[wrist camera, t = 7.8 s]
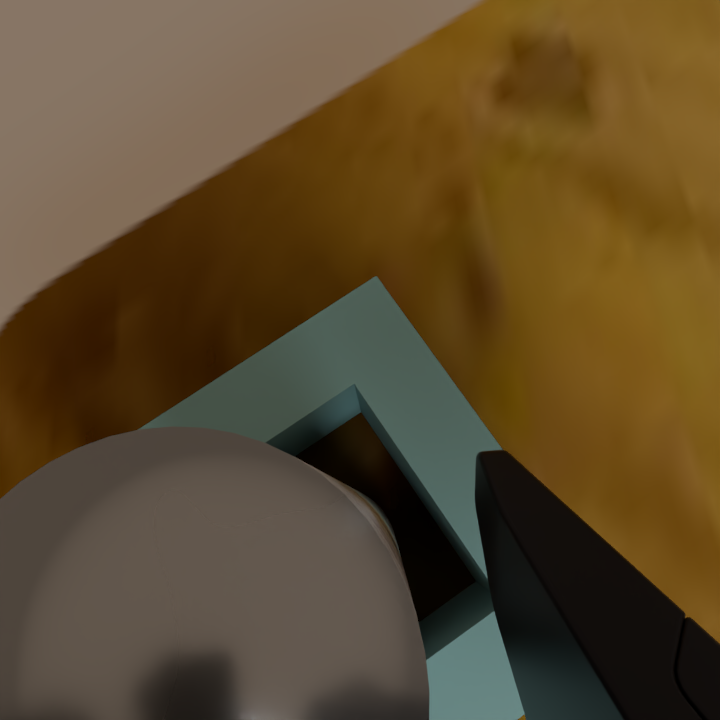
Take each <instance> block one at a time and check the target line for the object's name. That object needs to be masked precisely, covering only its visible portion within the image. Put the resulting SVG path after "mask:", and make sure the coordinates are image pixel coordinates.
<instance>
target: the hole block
mask: <svg viewBox="0 0 720 720" xmlns="http://www.w3.org/2000/svg"><path fill="white" fill-rule="evenodd" d="M360 412H361V413H362V414H363V415H364V417H365V418H366V420H367V421H368V423H369V424H370V426H371V427H372V429H373V430H374V432H375V433H376V435H377V436H378V438H379V439H380V441H381V442H382V443H383V445H384V446H385V448H386V449H387V451H388V452H389V454H390V455H391V457H392V458H393V460H394V461H395V463H396V464H397V466H398V467H399V469H400V470H401V472H402V473H403V474H404V476H405V477H406V479H407V480H408V482H409V483H410V485H411V486H412V488H413V489H414V491H415V492H416V494H417V495H418V497H419V498H420V500H421V501H422V503H423V504H424V505H425V507H426V508H427V510H428V511H429V513H430V514H431V516H432V517H433V519H434V520H435V522H436V523H437V525H438V526H439V528H440V529H441V531H442V532H443V534H444V535H445V536H446V538H447V539H448V541H449V542H450V544H451V545H452V547H453V548H454V550H455V551H456V553H457V554H458V556H459V557H460V559H461V560H462V562H463V563H464V564H465V566H466V567H467V569H468V570H469V572H470V573H471V575H472V576H473V578H474V579H475V581H476V582H474V583H473V584H471V585H470V586H469V587H467V588H466V589H464V590H463V591H462V592H460V593H459V594H457V595H456V596H455V597H453V598H452V599H451V600H449V601H448V602H446V603H445V604H444V605H442V606H441V607H439V608H438V609H437V610H435V611H434V612H432V613H431V614H430V615H428V616H427V617H425V618H424V619H423V620H421V621H420V622H419V627H420V632H421V636H422V640H423V645H424V649H425V654H426V663H427V673H428V682H429V692H430V695H429V720H517V719H518V718H520V717H521V716H522V715H524V714H525V713H524V710H523V707H522V703H521V700H520V697H519V693H518V690H517V687H516V683H515V680H514V677H513V673H512V670H511V667H510V663H509V660H508V657H507V653H506V650H505V647H504V643H503V640H502V637H501V633H500V630H499V627H498V623H497V619H496V616H495V612H494V608H493V604H492V599H491V594H490V589H489V583H488V577H487V571H486V566H485V560H484V554H483V548H482V542H481V536H480V531H479V525H478V519H477V513H476V507H475V467H476V456H477V454H478V453H479V452H481V451H492V450H503V449H502V448H501V447H500V445H499V444H498V443H497V441H496V440H495V438H494V437H493V436H492V434H491V433H490V432H489V430H488V429H487V427H486V426H485V425H484V423H483V422H482V421H481V419H480V418H479V416H478V415H477V414H476V412H475V411H474V410H473V408H472V407H471V405H470V404H469V403H468V401H467V400H466V399H465V397H464V396H463V394H462V393H461V392H460V390H459V389H458V388H457V386H456V385H455V383H454V382H453V381H452V379H451V378H450V377H449V375H448V374H447V372H446V371H445V370H444V368H443V367H442V366H441V364H440V363H439V361H438V360H437V359H436V357H435V356H434V355H433V353H432V352H431V350H430V349H429V348H428V346H427V345H426V343H425V342H424V341H423V339H422V338H421V337H420V335H419V334H418V332H417V331H416V330H415V328H414V327H413V326H412V324H411V323H410V321H409V320H408V319H407V317H406V316H405V315H404V313H403V312H402V310H401V309H400V308H399V306H398V305H397V304H396V302H395V301H394V299H393V298H392V297H391V295H390V294H389V293H388V291H387V290H386V288H385V287H384V286H383V284H382V283H381V282H380V280H379V279H378V277H377V276H375V277H373V278H372V279H370V280H369V281H367V282H366V283H364V284H363V285H361V286H359V287H358V288H356V289H355V290H353V291H352V292H350V293H349V294H347V295H346V296H344V297H342V298H341V299H339V300H338V301H336V302H335V303H333V304H332V305H330V306H328V307H327V308H325V309H324V310H322V311H321V312H319V313H318V314H316V315H315V316H313V317H311V318H310V319H308V320H307V321H305V322H304V323H302V324H301V325H299V326H298V327H296V328H294V329H293V330H291V331H290V332H288V333H287V334H285V335H284V336H282V337H280V338H279V339H277V340H276V341H274V342H273V343H271V344H270V345H268V346H267V347H265V348H263V349H262V350H260V351H259V352H257V353H256V354H254V355H253V356H251V357H250V358H248V359H246V360H245V361H243V362H242V363H240V364H239V365H237V366H236V367H234V368H232V369H231V370H229V371H228V372H226V373H225V374H223V375H222V376H220V377H219V378H217V379H215V380H214V381H212V382H211V383H209V384H208V385H206V386H205V387H203V388H202V389H200V390H198V391H197V392H195V393H194V394H192V395H191V396H189V397H188V398H186V399H184V400H183V401H181V402H180V403H178V404H177V405H175V406H174V407H172V408H171V409H169V410H167V411H166V412H164V413H163V414H161V415H160V416H158V417H157V418H155V419H154V420H152V421H150V422H149V423H147V424H146V425H144V426H143V427H141V428H140V429H150V428H160V427H171V426H174V427H200V428H208V429H214V430H220V431H226V432H232V433H236V434H239V435H242V436H245V437H249V438H252V439H255V440H258V441H261V442H264V443H267V444H269V445H271V446H273V447H275V448H277V449H279V450H281V451H283V452H286V453H288V454H290V455H292V456H294V457H295V456H296V455H298V454H299V453H301V452H302V451H304V450H305V449H307V448H308V447H310V446H311V445H313V444H314V443H316V442H317V441H319V440H320V439H322V438H323V437H325V436H326V435H328V434H329V433H330V432H332V431H333V430H335V429H336V428H338V427H339V426H341V425H342V424H344V423H345V422H347V421H348V420H350V419H351V418H353V417H354V416H356V415H357V414H359V413H360ZM140 429H138V430H140Z"/></svg>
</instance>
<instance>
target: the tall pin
mask: <svg viewBox="0 0 720 720" xmlns="http://www.w3.org/2000/svg"><path fill="white" fill-rule="evenodd" d="M429 695H430V692H429V682H428V673H427V663H426V654H425V649H424V645H423V640H422V636H421V632H420V627H419V623H418V619H417V614H416V611H415V607H414V603H413V600H412V596H411V592H410V588H409V585H408V581H407V577H406V574H405V570H404V566H403V562H402V559H401V555H400V551H399V548H398V544H397V540H396V536H395V533H394V530H393V527H392V525H391V523H390V521H389V519H388V517H387V516H386V514H385V513H384V511H383V510H382V509H381V508H380V507H379V505H378V504H377V503H375V502H374V501H373V500H372V499H371V498H369V497H368V496H366V495H364V494H363V493H361V492H359V491H357V490H355V489H353V488H352V487H350V486H348V485H346V484H344V483H342V482H340V481H339V480H337V479H335V478H333V477H331V476H329V475H327V474H326V473H324V472H322V471H320V470H318V469H316V468H314V467H313V466H311V465H309V464H307V463H305V462H303V461H301V460H300V459H298V458H296V457H294V456H292V455H290V454H288V453H286V452H283V451H281V450H279V449H277V448H275V447H273V446H271V445H269V444H267V443H264V442H261V441H258V440H255V439H252V438H249V437H245V436H242V435H239V434H236V433H232V432H226V431H220V430H214V429H208V428H200V427H174V426H171V427H160V428H150V429H140V430H135V431H131V432H127V433H122V434H118V435H113V436H109V437H106V438H103V439H101V440H98V441H95V442H92V443H90V444H87V445H84V446H81V447H79V448H77V449H75V450H73V451H71V452H69V453H67V454H65V455H63V456H61V457H59V458H57V459H55V460H53V461H51V462H49V463H47V464H46V465H45V466H43V467H42V468H40V469H39V470H37V471H36V472H34V473H33V474H31V475H30V476H28V477H27V478H25V479H24V480H22V481H21V482H19V483H18V484H17V485H16V486H15V487H14V488H13V489H11V490H10V491H9V492H8V493H7V494H6V495H4V496H3V497H2V498H1V499H0V720H429Z"/></svg>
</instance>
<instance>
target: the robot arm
mask: <svg viewBox="0 0 720 720" xmlns="http://www.w3.org/2000/svg"><path fill="white" fill-rule="evenodd" d="M475 507H476V513H477V519H478V525H479V531H480V536H481V542H482V548H483V554H484V560H485V566H486V571H487V577H488V583H489V589H490V594H491V599H492V604H493V608H494V612H495V616H496V619H497V623H498V627H499V630H500V633H501V637H502V640H503V643H504V647H505V650H506V653H507V657H508V660H509V663H510V667H511V670H512V673H513V677H514V680H515V683H516V687H517V690H518V693H519V697H520V700H521V703H522V707H523V710H524V713H525V717H526V720H720V644H719V643H718V642H717V641H716V640H715V639H714V638H713V637H711V636H710V635H709V634H708V633H707V632H706V631H705V630H704V629H703V628H702V627H700V626H699V625H698V624H697V623H696V622H695V621H694V620H693V619H692V618H690V617H687V618H685V613H684V611H682V610H681V609H680V608H679V607H678V606H677V605H676V604H675V603H674V602H673V601H671V600H670V599H669V598H668V597H667V596H666V595H665V594H664V593H663V592H662V591H660V590H659V589H658V588H657V587H656V586H655V585H654V584H653V583H652V582H651V581H649V580H648V579H647V578H646V577H645V576H644V575H643V574H642V573H641V572H640V571H638V570H637V569H636V568H635V567H634V566H633V565H632V564H631V563H630V562H629V561H627V560H626V559H625V558H624V557H623V556H622V555H621V554H620V553H619V552H618V551H616V550H615V549H614V548H613V547H612V546H611V545H610V544H609V543H608V542H606V541H605V540H604V539H603V538H602V537H601V536H600V535H599V534H598V533H597V532H595V531H594V530H593V529H592V528H591V527H590V526H589V525H588V524H587V523H586V522H584V521H583V520H582V519H581V518H580V517H579V516H578V515H577V514H576V513H575V512H573V511H572V510H571V509H570V508H569V507H568V506H567V505H566V504H565V503H564V502H562V501H561V500H560V499H559V498H558V497H557V496H556V495H555V494H554V493H553V492H551V491H550V490H549V489H548V488H547V487H546V486H545V485H544V484H543V483H542V482H540V481H539V480H538V479H537V478H536V477H535V476H534V475H533V474H532V473H530V472H529V471H528V470H527V469H526V468H525V467H524V466H523V465H522V464H521V463H519V462H518V461H517V460H516V459H515V458H514V457H513V456H512V455H511V454H510V453H508V452H507V451H505V450H492V451H481V452H479V453H478V454H477V456H476V467H475Z"/></svg>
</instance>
